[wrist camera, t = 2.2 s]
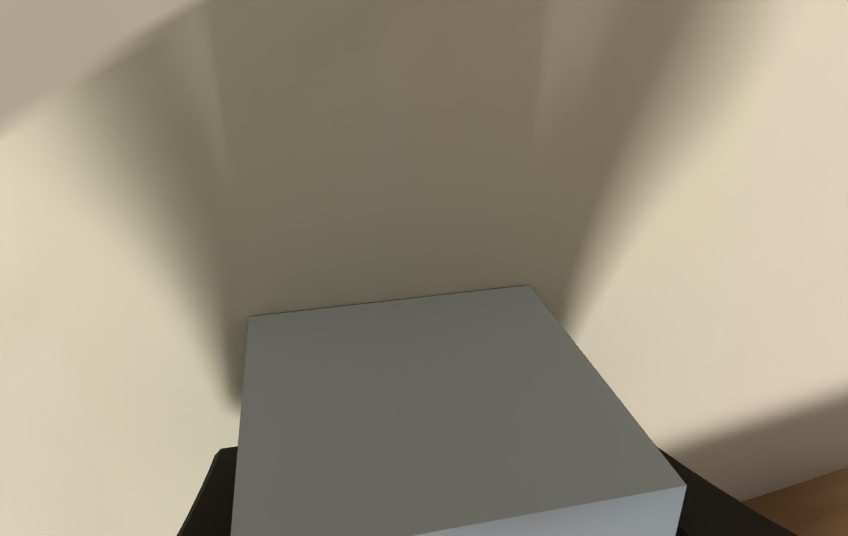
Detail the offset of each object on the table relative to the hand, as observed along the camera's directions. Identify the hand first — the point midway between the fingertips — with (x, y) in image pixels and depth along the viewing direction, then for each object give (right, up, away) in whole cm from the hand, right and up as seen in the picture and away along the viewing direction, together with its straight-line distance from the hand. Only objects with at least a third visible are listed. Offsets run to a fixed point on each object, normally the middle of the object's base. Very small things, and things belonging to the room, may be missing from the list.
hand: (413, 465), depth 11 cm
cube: (0, +1, +1) cm, 1 cm away
